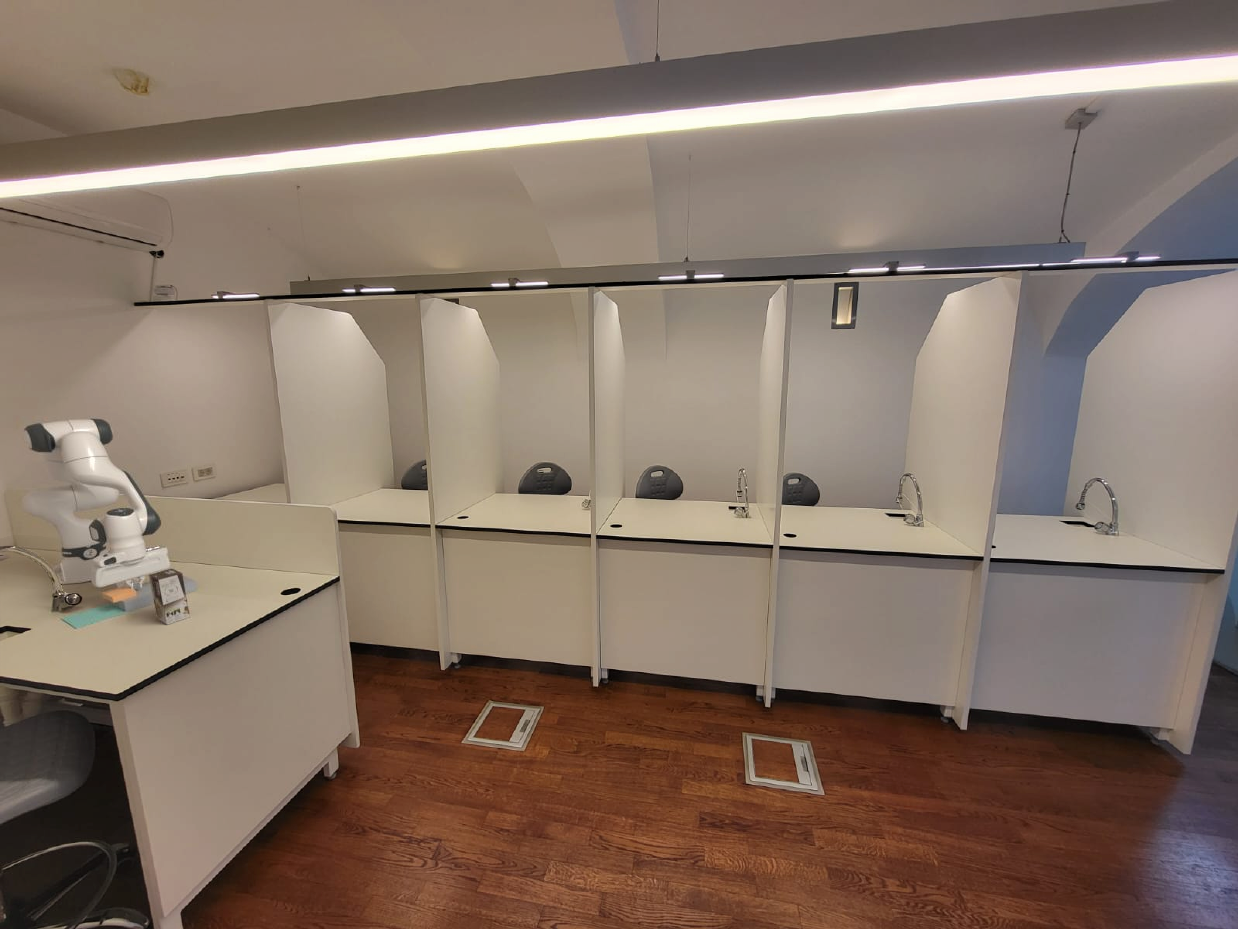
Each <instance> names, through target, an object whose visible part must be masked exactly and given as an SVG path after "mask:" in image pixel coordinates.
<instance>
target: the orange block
mask: <svg viewBox="0 0 1238 929" xmlns="http://www.w3.org/2000/svg"><path fill="white" fill-rule="evenodd" d="M101 595H102V598H103V599H105V600H107V601H109V602H110V601H111V602H113V603H115V602H118V601H121V600H125V599H128V598H131V597H135V596H137V594H136V590H133V589H131V588H129V587H126V586H123V587H119V588H117V587H116V588H113V589H109V590H105V591H102V592H101Z"/></svg>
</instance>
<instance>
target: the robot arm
mask: <svg viewBox="0 0 1238 929" xmlns="http://www.w3.org/2000/svg"><path fill="white" fill-rule="evenodd" d="M113 438H114V430H113V428H112V426H111V425H110V424H109V422H107V421H106V420H105V419H103V418H90V419H85V418H84V419H82V418H81V419H79V418H78V419H66V420H57V421H51V422H43V423H40V422H37V423H33V424H29V425H27V426H26V427H25V428H24V429H23V432H22V440H23V442H24V444H25V445H26V446H27V448H28V449H29V450H30V451H34V452H36V453H43V458H44V463H45V469H46V473H47V475H48V476H49V477H50V478H52V479H54V480H56V481H59V482H65V483H70V484H67V485H60V486H59V485H58V486H51V487H44V488H40V489H36V490H31V491H29V492H27V493H26V494H24V496H23V497H22V499H21V507H22V509H23V510H24V511H25V513H27V514H29V516H33V517H35V518H40V519H43V520H45V521H46V522H48V523H49V524H51V525H52V526H53V527H54V528H55V529H56V532H58V537H59V538H60V542H61V545H62V547H61V549H60V550H61V551H60V552H61V556H62V558H61V560H60V561H59V564H58V565H54V566H53V567H54V571H55V572H57V573H58V575H59V578H60V580H61V582H62V585H68V584H69V585H71V584H79V583H85V582H90V581H91V583H92V584H91V585H92V586H94V587H95V588H104V587H107V586H111V585H114V584H115V585H116V583H118V582H122V581H124V583H126V584H127V585H129V588H131V589H133V590H136V589H139V588H142V583H143V582H144V580H145V579H146V576H147V575H150V574H154V573H157V572H161V571H164V570H168V569H170V567H171V562H170V558H169V556H168V553H169V550H168V547H167V546H163V545H157V546H153V547H148V548H147V547H146V543H145V542H146V541H145V540H144V538H143V537H144V536H145V537H146V536H151V535H154V534H155V533H156V532H157V531H158V530H159V528H161V526H162V520H161V517H160V516H159V514H158V513H157V511H156V510H155V509H154V508H153V507H152V506H151V504H150V502H148V500H147V498H146V496H145V495H144V494H143V492H142V490H141V489H140V487H139V486H138V485H137V482H136V481H135V480H134V479H133V477H132V476H131V475H130V473H128V472H127V471H126V470H122V469H120V468H118V467H117V466H116V465H115V464H113V462H112V461H111V459H110V456H109V455H108V452H107V450H106V448H105V445H107V444H108V445H109V444H110V443H111V442H112V441H113ZM120 493H121V494H122V495H123V496H124V499H125V500H126V501H127V503H128V504H129V506H130V507H131V508H130V507H118V508H113V509H110V510H108V511H106V512H105V513H104V516H100V517H99V518H95V519H91V518H83V517H78V516H75V513H77V512H81V511H89V510H94V509H101V508H104V507H107V506H111V505H114V504H115V503H117V501H118V500H119V498H120ZM107 544H109V550H108V549H107V546H106V545H107ZM59 571H60V572H59ZM136 577H137V578H139V580H138V582H137V583H136V584H131V583H129V582H131V579H133V578H136Z"/></svg>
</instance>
